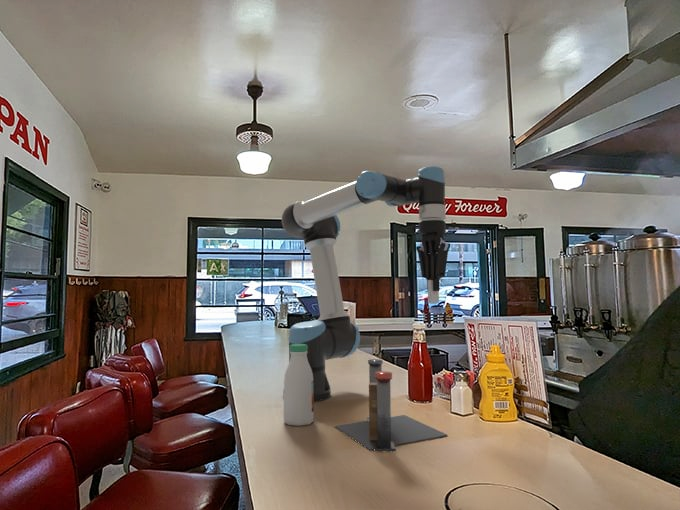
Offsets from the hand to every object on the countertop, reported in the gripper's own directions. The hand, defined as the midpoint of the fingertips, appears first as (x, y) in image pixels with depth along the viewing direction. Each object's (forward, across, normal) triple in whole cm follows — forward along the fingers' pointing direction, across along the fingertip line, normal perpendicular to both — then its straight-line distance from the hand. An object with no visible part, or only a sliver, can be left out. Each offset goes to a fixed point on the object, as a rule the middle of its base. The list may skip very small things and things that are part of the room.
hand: (433, 302), depth 129 cm
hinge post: (+30, +1, -20) cm, 36 cm away
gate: (+30, +9, -25) cm, 40 cm away
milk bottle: (+31, -8, -38) cm, 49 cm away
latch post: (+30, +18, -28) cm, 45 cm away
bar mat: (+30, +9, -21) cm, 38 cm away
